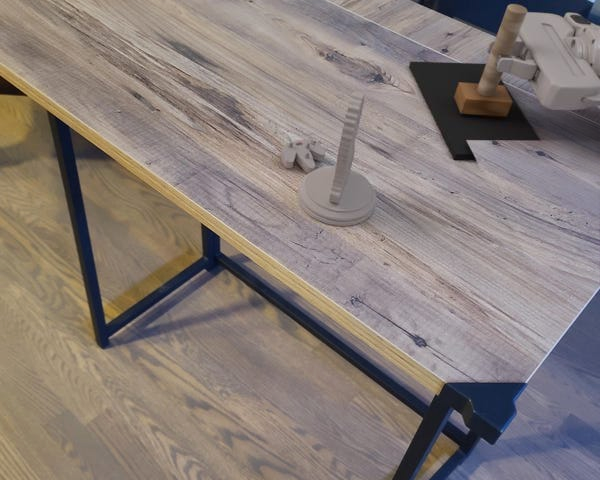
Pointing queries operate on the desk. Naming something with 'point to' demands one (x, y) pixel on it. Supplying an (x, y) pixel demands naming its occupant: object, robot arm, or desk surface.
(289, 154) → the game controller
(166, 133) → the desk surface
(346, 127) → the grey upright stand
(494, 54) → the wooden peg stand
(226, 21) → the desk surface
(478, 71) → the notched black mat
